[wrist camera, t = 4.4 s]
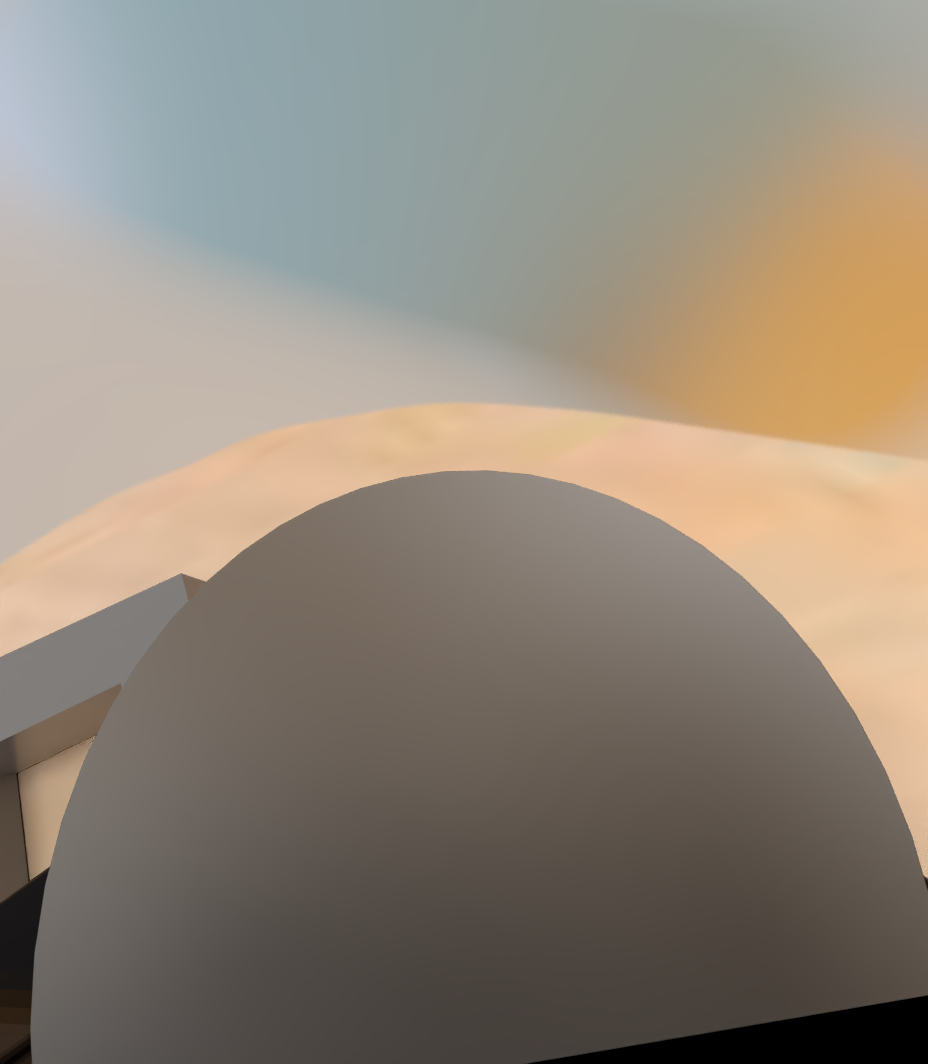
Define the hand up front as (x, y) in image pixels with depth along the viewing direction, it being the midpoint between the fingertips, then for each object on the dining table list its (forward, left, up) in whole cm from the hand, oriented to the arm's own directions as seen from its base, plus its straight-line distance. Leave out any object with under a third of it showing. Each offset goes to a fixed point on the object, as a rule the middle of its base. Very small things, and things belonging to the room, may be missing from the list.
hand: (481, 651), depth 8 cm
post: (-1, 0, -7) cm, 7 cm away
